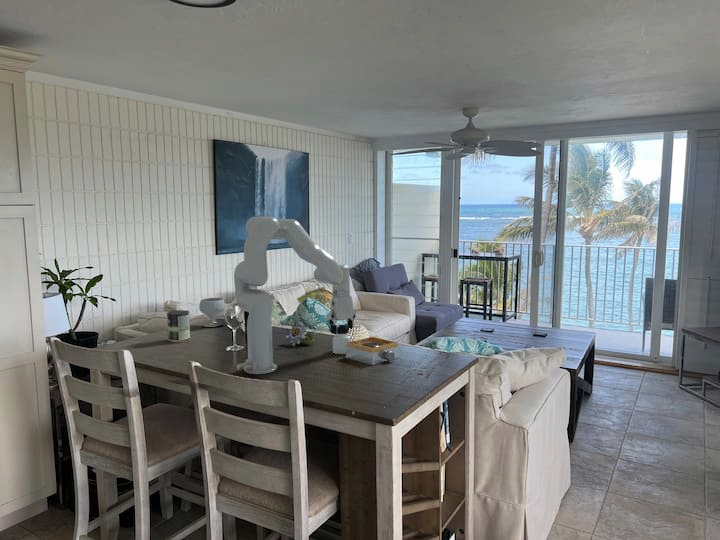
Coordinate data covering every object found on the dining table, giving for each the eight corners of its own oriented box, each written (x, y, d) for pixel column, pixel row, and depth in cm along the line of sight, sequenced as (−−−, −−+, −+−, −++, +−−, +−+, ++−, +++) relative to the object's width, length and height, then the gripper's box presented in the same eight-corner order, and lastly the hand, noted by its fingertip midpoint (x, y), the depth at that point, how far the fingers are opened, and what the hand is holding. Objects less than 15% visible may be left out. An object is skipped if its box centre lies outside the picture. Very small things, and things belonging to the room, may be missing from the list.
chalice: (208, 329, 273) (207, 302, 271) (195, 326, 282) (194, 299, 280) (231, 325, 283) (230, 299, 281) (217, 322, 292) (216, 296, 291)
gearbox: (378, 366, 202) (377, 350, 201) (345, 357, 215) (345, 342, 215) (404, 358, 213) (404, 343, 212) (372, 350, 226) (372, 336, 226)
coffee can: (167, 343, 243) (166, 314, 242) (168, 339, 253) (167, 311, 251) (190, 342, 246) (189, 313, 245) (190, 337, 256) (189, 309, 254)
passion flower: (294, 357, 237) (279, 336, 237) (306, 347, 247) (292, 327, 247) (310, 346, 232) (294, 325, 232) (321, 336, 241) (306, 316, 241)
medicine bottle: (351, 350, 228) (350, 323, 226) (349, 354, 221) (348, 327, 219) (335, 349, 228) (334, 323, 227) (332, 354, 221) (332, 326, 220)
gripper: (331, 296, 213) (332, 336, 215) (361, 291, 225) (362, 329, 227) (320, 294, 219) (321, 333, 220) (350, 290, 230) (350, 327, 232)
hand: (342, 331), depth 224 cm, fingers open, 9 cm apart
